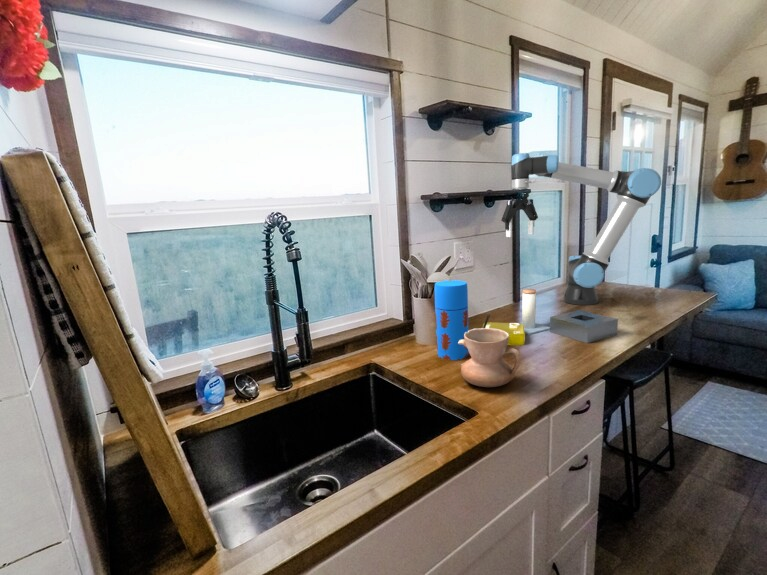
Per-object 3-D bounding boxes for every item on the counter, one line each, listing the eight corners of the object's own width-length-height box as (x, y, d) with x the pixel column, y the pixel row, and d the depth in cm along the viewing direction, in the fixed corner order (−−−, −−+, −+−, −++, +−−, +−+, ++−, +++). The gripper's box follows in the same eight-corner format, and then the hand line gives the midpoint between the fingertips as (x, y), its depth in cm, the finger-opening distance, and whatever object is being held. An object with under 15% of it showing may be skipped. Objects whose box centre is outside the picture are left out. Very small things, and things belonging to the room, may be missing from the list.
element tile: (483, 332, 153) (483, 320, 152) (523, 333, 149) (523, 321, 148) (481, 344, 139) (481, 332, 138) (525, 346, 135) (525, 333, 134)
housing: (578, 324, 154) (579, 310, 152) (617, 334, 139) (617, 318, 138) (549, 331, 147) (550, 316, 146) (587, 343, 133) (587, 326, 132)
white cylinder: (528, 324, 156) (529, 288, 153) (538, 327, 152) (538, 290, 149) (519, 326, 154) (519, 290, 151) (528, 329, 150) (529, 292, 147)
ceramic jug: (448, 384, 109) (446, 336, 106) (471, 366, 120) (470, 323, 117) (510, 400, 98) (510, 347, 95) (529, 379, 109) (529, 331, 106)
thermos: (460, 362, 123) (458, 287, 119) (431, 356, 130) (428, 285, 125) (474, 351, 132) (472, 281, 127) (446, 346, 138) (444, 279, 134)
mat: (528, 322, 161) (528, 320, 161) (551, 329, 150) (551, 327, 150) (506, 327, 156) (506, 325, 156) (528, 334, 145) (528, 333, 145)
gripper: (505, 189, 166) (505, 238, 170) (546, 187, 176) (545, 233, 180) (493, 190, 172) (493, 237, 176) (533, 188, 182) (533, 233, 186)
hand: (519, 235), depth 178 cm, fingers open, 13 cm apart
